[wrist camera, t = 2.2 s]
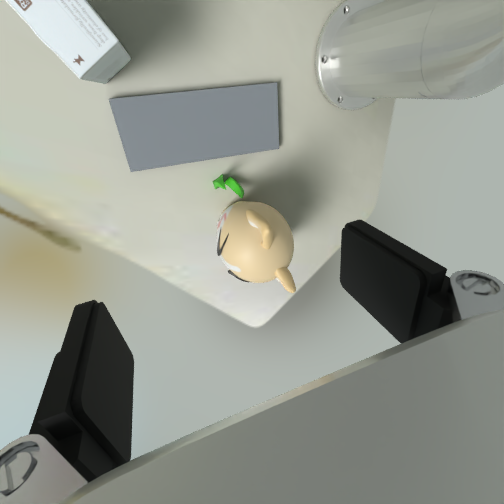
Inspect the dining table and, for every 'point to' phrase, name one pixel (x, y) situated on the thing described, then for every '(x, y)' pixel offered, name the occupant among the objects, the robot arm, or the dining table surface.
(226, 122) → the mat
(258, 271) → the kitten
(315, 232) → the dining table surface
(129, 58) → the skincare box
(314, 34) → the dining table surface
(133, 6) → the dining table surface
